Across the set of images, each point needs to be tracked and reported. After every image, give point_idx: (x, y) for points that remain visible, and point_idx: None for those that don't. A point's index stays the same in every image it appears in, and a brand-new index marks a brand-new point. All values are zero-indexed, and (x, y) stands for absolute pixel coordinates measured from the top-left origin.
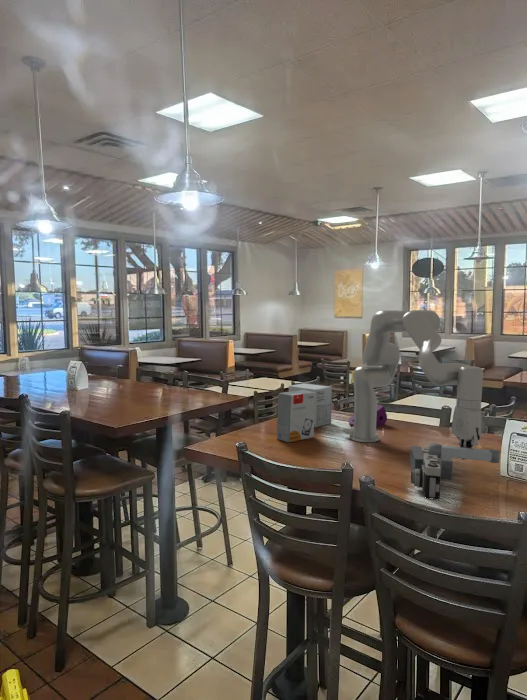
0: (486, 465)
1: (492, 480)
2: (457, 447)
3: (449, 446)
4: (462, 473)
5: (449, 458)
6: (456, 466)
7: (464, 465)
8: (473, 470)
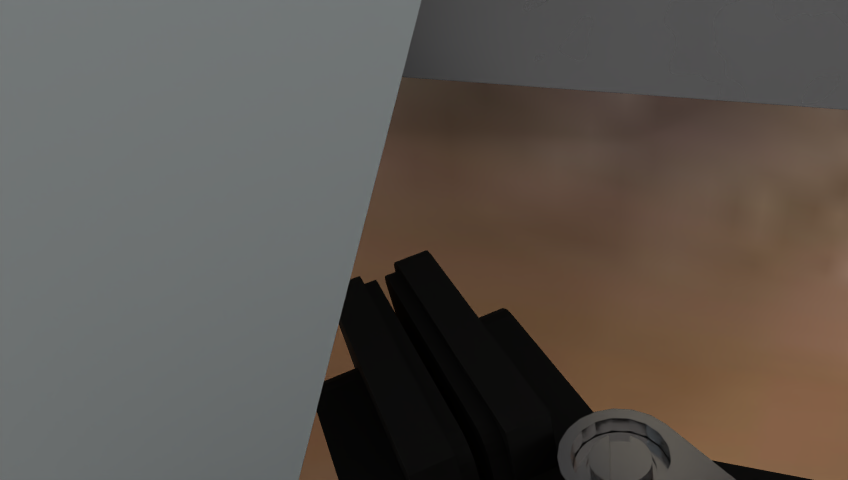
0: (717, 450)
1: (309, 469)
2: (248, 336)
3: (359, 5)
4: (517, 209)
5: (541, 53)
6: (733, 191)
7: (746, 276)
8: (606, 335)
